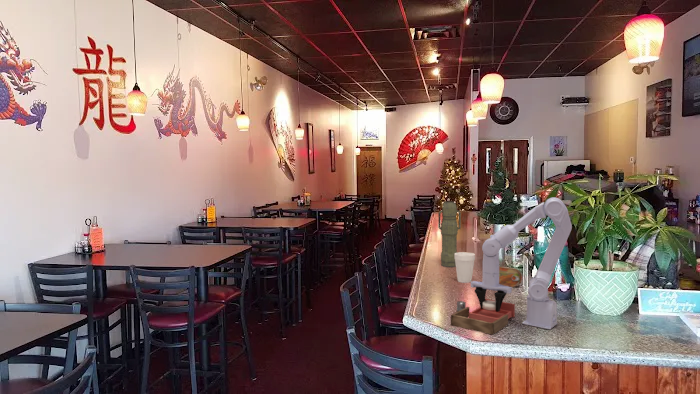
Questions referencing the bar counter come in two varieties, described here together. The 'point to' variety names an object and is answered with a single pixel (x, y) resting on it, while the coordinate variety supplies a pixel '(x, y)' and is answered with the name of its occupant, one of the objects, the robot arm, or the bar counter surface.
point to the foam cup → (464, 266)
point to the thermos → (449, 233)
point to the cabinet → (477, 322)
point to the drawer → (493, 312)
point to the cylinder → (461, 305)
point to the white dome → (489, 305)
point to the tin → (509, 276)
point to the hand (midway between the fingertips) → (490, 309)
